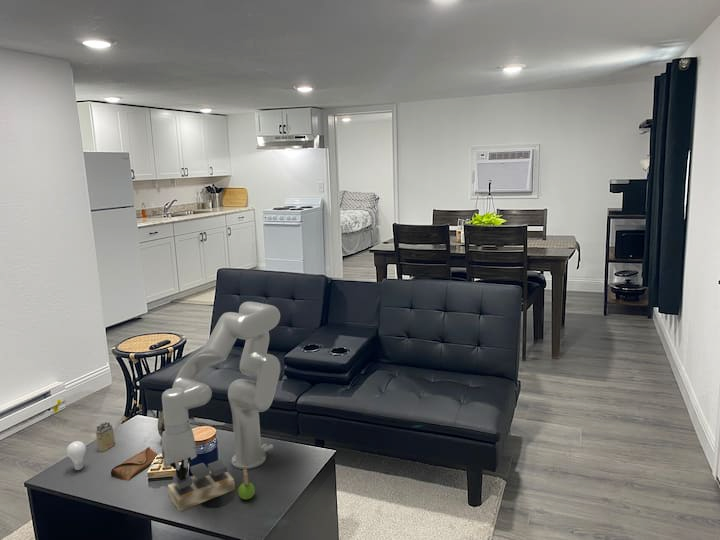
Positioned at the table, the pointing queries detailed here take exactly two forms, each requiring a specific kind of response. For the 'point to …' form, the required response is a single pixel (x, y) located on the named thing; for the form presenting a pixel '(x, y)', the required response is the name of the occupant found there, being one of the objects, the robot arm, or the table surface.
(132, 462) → the sunglasses case
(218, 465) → the switch
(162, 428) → the decorative egg
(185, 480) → the switch
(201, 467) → the switch middle
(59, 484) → the table surface
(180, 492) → the switch panel
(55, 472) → the table surface
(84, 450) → the lightbulb
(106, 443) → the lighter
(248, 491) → the green maraca
